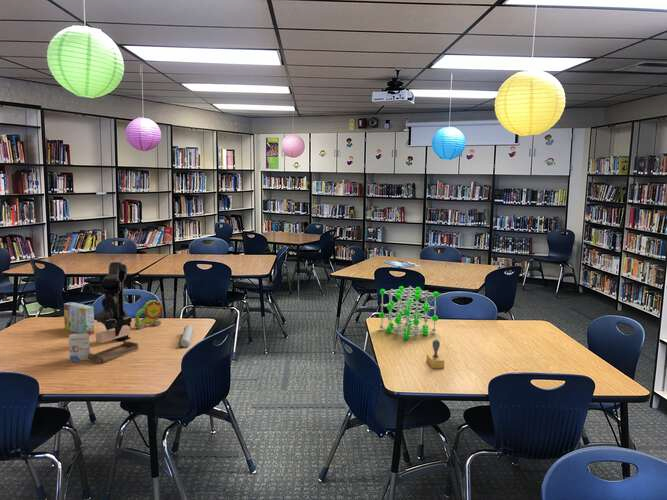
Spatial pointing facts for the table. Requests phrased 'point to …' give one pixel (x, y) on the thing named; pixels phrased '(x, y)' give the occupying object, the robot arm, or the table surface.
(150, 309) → the toy lion
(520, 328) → the table surface
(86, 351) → the ink box
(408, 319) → the molecular structure model
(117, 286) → the robot arm
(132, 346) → the wooden tray
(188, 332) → the tube
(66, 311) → the snack box
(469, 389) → the table surface
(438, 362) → the rubber stamp
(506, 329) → the table surface
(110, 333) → the beige long block
